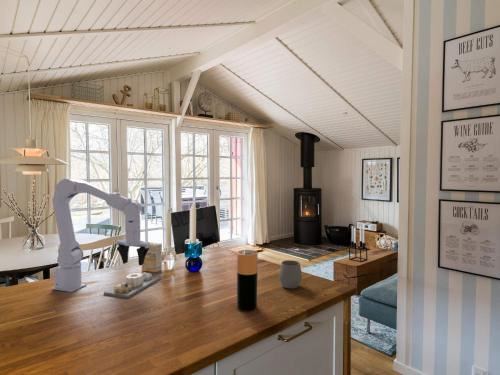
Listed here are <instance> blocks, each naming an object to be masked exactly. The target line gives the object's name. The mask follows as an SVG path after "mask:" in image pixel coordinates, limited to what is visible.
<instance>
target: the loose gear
mask: <svg viewBox="0 0 500 375" xmlns="http://www.w3.org/2000/svg"><path fill="white" fill-rule="evenodd" d="M125 281H126V283H128V284H131V286H132V287H133V286H134V287H136V286H139V285H141V284H142V283H143V274H142V273H141V272H139V273H138V272H137V273H135V272H133V273H130V274H128V275H127V276H125Z"/></svg>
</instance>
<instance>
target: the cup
mask: <svg viewBox="0 0 500 375" xmlns="http://www.w3.org/2000/svg"><path fill="white" fill-rule="evenodd" d="M278 278H279V281H280V283H281V286H282V287H283V288H285V289H289V290H293V289H297V288H298V287H299V286H300V284H301V282H302V280H303V274H302V268H301V263H300V261H297V260H293V259H292V260H289V259H287V260H283V261H281V264H280V269H279V274H278Z"/></svg>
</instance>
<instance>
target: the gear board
mask: <svg viewBox="0 0 500 375" xmlns="http://www.w3.org/2000/svg"><path fill="white" fill-rule="evenodd" d="M141 274H143V283H142V284H141V285H139V286H136V287H134V286H133V287H132V286H131V284H128V283H126V280H124V281H123V282H122V283H119V284H118V283H117V285H115V286H113V287H111V288H109V289H107V290H105V291H104V292H103V295H104V296H110V297H115V296H116V297H117V298H122V299H129V298H132V297H133V296H135V295H137V294H138V293H140V292H142V291H144V290H145V289H147V288H148V287H150V286H151V284H152V285H153V283H154V284H156V283H157V282H159V281H160V280H162V277H161V276H155V275H152V272H146V271H143V272H142V273H141ZM158 280H159V281H158ZM156 281H157V282H156ZM146 287H147V288H146ZM141 290H142V291H141ZM116 297H115V298H116Z"/></svg>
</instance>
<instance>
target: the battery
mask: <svg viewBox="0 0 500 375" xmlns="http://www.w3.org/2000/svg"><path fill="white" fill-rule="evenodd" d="M236 252H237V253H236V307H237V309H238V310H239V311H243V312H252V311H254V310H257V308H258V271H259V270H258V264H259V262H258V260H259V259H258V255H259V254H258V251H256V250H253V249H252V250H251V249H243V250H242V249H241V250H237V251H236Z"/></svg>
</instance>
